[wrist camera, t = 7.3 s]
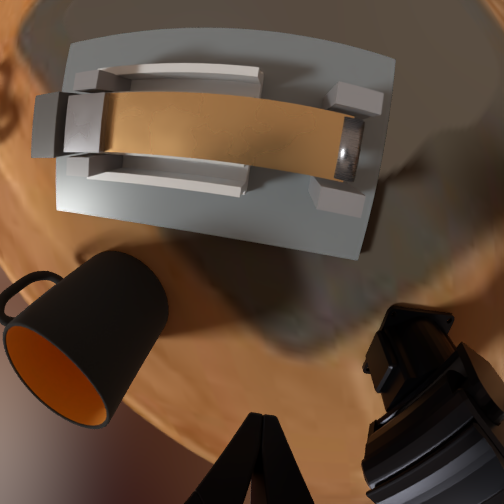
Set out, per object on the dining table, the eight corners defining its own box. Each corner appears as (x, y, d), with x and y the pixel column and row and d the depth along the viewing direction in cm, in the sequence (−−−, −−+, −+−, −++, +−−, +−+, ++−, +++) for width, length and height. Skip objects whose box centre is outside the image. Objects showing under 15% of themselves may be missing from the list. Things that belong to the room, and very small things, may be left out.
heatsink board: (390, 62, 14) (431, 36, 8) (354, 254, 19) (378, 300, 13) (78, 46, 15) (25, 31, 9) (64, 206, 20) (12, 230, 14)
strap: (361, 121, 12) (370, 119, 11) (350, 181, 13) (358, 186, 12) (82, 97, 13) (66, 96, 11) (77, 149, 14) (61, 152, 12)
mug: (56, 216, 20) (-38, 266, 11) (181, 278, 21) (114, 378, 11) (51, 294, 23) (-18, 355, 14) (157, 353, 24) (108, 445, 14)
